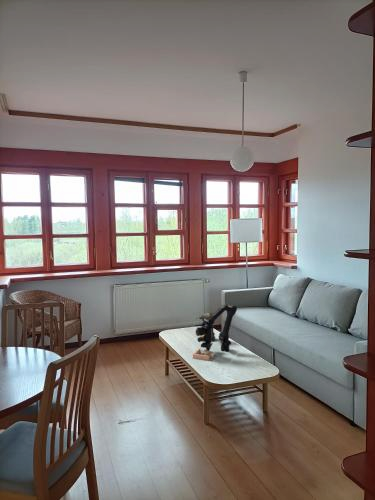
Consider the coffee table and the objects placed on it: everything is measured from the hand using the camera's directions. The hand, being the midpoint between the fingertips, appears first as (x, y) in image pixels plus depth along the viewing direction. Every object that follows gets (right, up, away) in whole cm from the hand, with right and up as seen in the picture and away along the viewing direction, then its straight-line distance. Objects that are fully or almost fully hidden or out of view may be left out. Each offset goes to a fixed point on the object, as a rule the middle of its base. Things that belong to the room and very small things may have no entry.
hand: (207, 352), depth 303 cm
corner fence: (-4, -2, -5) cm, 6 cm away
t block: (-1, -2, -6) cm, 6 cm away
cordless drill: (0, +1, +36) cm, 36 cm away
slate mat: (-2, -2, -3) cm, 4 cm away
